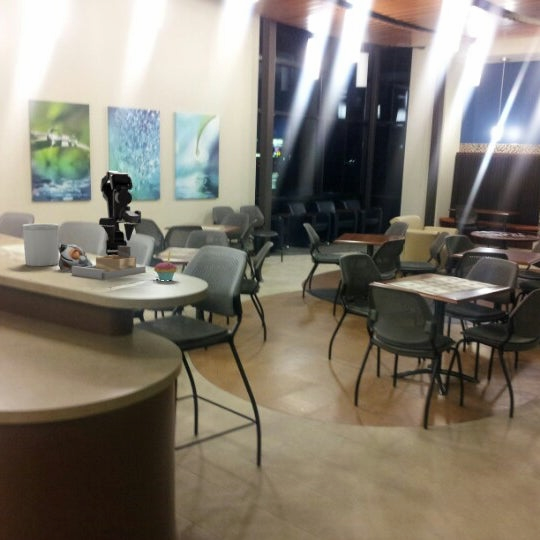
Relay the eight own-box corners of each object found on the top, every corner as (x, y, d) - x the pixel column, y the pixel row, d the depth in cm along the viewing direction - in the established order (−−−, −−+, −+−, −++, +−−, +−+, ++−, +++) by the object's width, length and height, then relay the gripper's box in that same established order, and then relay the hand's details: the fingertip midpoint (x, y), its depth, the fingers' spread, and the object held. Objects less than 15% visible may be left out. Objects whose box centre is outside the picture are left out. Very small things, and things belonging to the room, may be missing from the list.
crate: (115, 268, 244) (114, 245, 243) (137, 271, 239) (136, 247, 237) (96, 272, 235) (95, 247, 234) (118, 275, 229) (118, 249, 228)
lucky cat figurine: (99, 269, 250) (97, 242, 241) (79, 283, 241) (76, 256, 232) (72, 256, 254) (69, 229, 246) (51, 270, 245) (47, 243, 237)
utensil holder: (16, 264, 255) (14, 224, 252) (41, 260, 269) (40, 222, 266) (42, 267, 250) (41, 226, 247) (66, 263, 263) (66, 224, 261)
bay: (114, 270, 248) (114, 259, 247) (145, 274, 240) (145, 263, 239) (71, 277, 228) (71, 266, 227) (104, 282, 220) (103, 270, 219)
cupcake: (180, 279, 231) (180, 249, 229) (170, 283, 223) (170, 251, 221) (161, 277, 234) (161, 247, 232) (150, 281, 226) (150, 250, 224)
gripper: (118, 205, 227) (119, 245, 230) (150, 204, 244) (150, 241, 246) (97, 203, 233) (98, 243, 235) (130, 202, 249) (130, 239, 251)
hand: (120, 241), depth 242 cm, fingers open, 9 cm apart
